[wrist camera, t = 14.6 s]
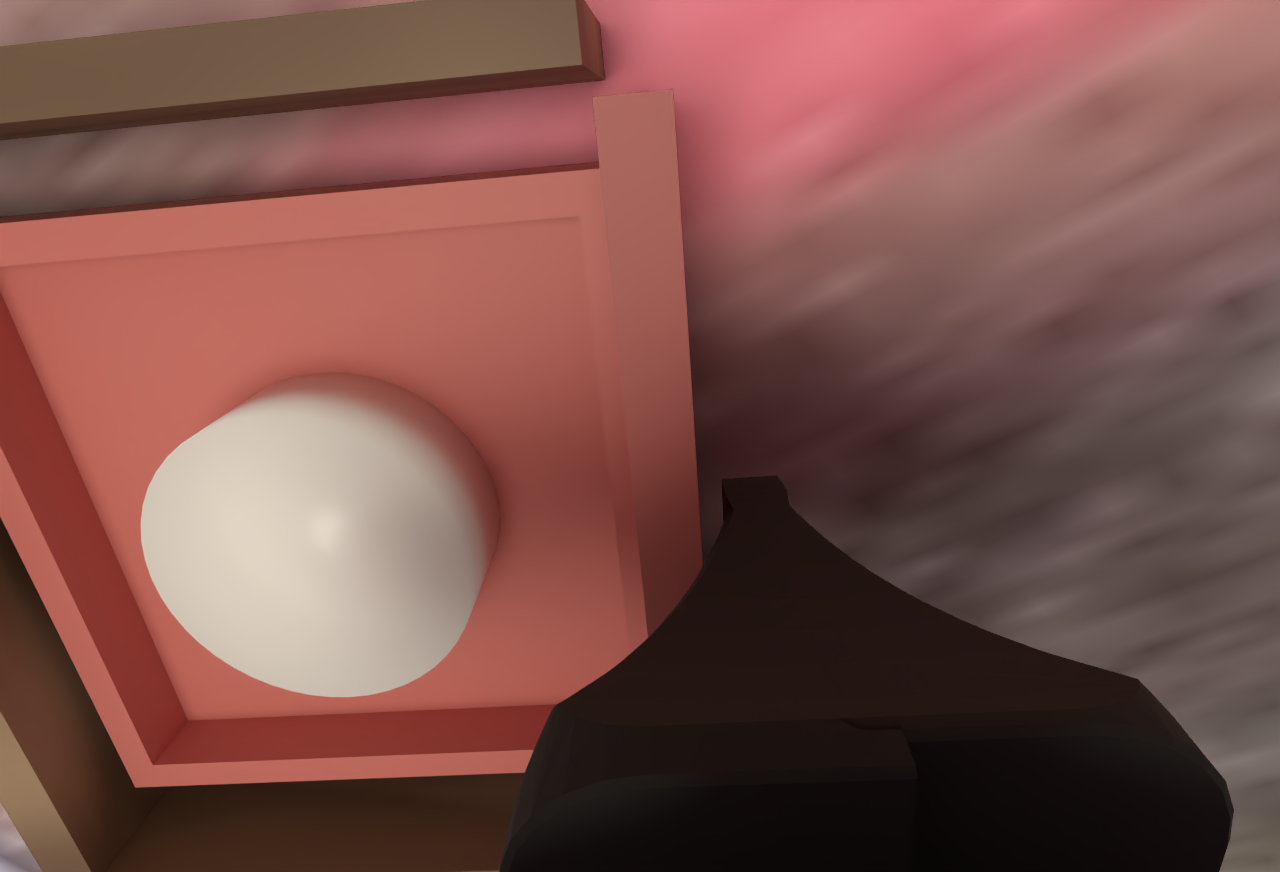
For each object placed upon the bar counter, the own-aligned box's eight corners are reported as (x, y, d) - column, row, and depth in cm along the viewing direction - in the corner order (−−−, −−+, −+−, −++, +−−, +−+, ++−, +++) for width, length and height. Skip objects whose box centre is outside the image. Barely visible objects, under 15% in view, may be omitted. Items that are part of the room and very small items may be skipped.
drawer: (710, 719, 16) (725, 931, 12) (204, 740, 17) (50, 947, 13) (669, 100, 11) (672, 90, 7) (-44, 170, 12) (-429, 196, 8)
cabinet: (669, 750, 17) (670, 893, 14) (172, 770, 18) (65, 910, 15) (600, 22, 11) (573, -16, 8) (-139, 100, 12) (-430, 92, 9)
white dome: (261, 633, 15) (204, 704, 13) (170, 384, 13) (87, 428, 11) (520, 617, 15) (499, 689, 13) (471, 359, 12) (437, 400, 11)
